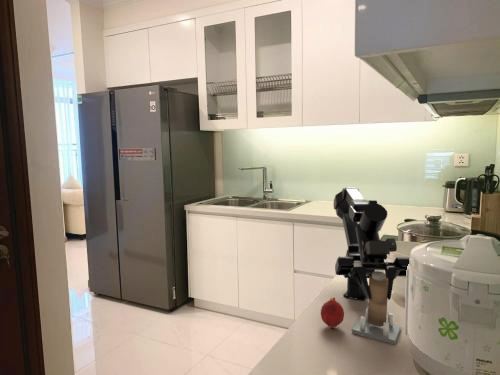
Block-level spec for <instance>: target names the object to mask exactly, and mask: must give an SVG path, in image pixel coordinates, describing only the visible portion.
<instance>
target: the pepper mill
mask: <svg viewBox="0 0 500 375" xmlns="http://www.w3.org/2000/svg"><path fill="white" fill-rule="evenodd" d="M368 285H369V289H370V295H371V299H368V298H367V299H368V301H367V308H368V319H367V321H368V323H369V324H371V325H374V326H384V322H387V320H388V278H386V274H385V272H382V271H379V270H375V272H372V276H370V277H369V278H368Z"/></svg>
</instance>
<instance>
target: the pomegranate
mask: <svg viewBox="0 0 500 375" xmlns="http://www.w3.org/2000/svg"><path fill="white" fill-rule="evenodd" d="M320 317H321V320H322V322H323V323H324V324H325V325H326V326H327V327H329V328H331V329H333V328H336V327H338V326H339V325H341V324H342V322H344V319H345V311H344V308H343V306H342V305H341V303H339V301H337V300H336V297H335V296H331V298H330V299H329V300H328V301H326V302H324V303H323V305H322V306H321V309H320Z"/></svg>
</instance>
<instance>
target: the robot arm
mask: <svg viewBox="0 0 500 375" xmlns="http://www.w3.org/2000/svg"><path fill="white" fill-rule="evenodd" d="M341 189H342V190H341V191H339V192H338V193H336V194H335V196H334V198H333V209H334V210H335V212H336V213H335V214H336V216H338V218H340V219H341V220H342V224H343V229H344V230H343V231H344V234H345V239H346V244H347V249H346V252H345V253H346V254H345V256H341V255H340V256H338V257H337V259H336V263H335V265H334V271H335V275H336V276H343V277H344V278H345V279H347V281H346V282H347V284H346V285H347V287H346V290H345V292H344V293H343V294H342V295H343V297H346V298H350V299H354V300H360V301H366V299H371V295H370V289H369V280H368V279H369V277H370V276H372V272H375V271H384V273H385V274H386V278H388V298H387V301H389V300H391V298H392V294H393V292H392V291H393V287H394V286H393V285H394V281H395V279H397V277H407V276H406V270H407V266H408V264H409V258H410V257H401V256H400V257H398V256H397V257H396V258H395V259H394V260H393V262H391V261H390V262H389V261H388V262H386V261H385V260H387V259H388V255H389V256H390V254H391V253H394V252H397V251H398V250H397V249H398V246H397V242H396V239H395V238H393V237H392V238H390V237H389V238H388V237H387V238H386V239H385V240H382V239H381V238H380V234H379V232H380V231H381V230H382V228H383V226H384V224H385V221H386V219H387V217H388V211H387V209H386V208H385V207H384V206H383V205H381V204H380V203H378V201H377V200H372V199H370V200H368V199H366V198H365V197H364V196H363V195H362V194H361V192H360V189H359V188H358V187H352V186H349V187H348V186H347V187H343V188H341Z"/></svg>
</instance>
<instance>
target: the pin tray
mask: <svg viewBox="0 0 500 375" xmlns="http://www.w3.org/2000/svg"><path fill="white" fill-rule="evenodd" d="M367 319H368V307H366V308H365V316H362V315H360V316H359V318H358V319H357V320H356V322H355V324H354V325H353V327H352V328H351V333H352V334H355V335H358V336H361V337H365V338H370V339H372V340H376V341H381V342H385V343H387V344H391V345H396V344H397V343H396V342H397V341H398V337H399V335H400V332H401V328H402V326H401V325H400V324H394V314H393V313H392V312H387V321H386V322H384V326H374V325H371V324H369V323H368V321H367Z"/></svg>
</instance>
